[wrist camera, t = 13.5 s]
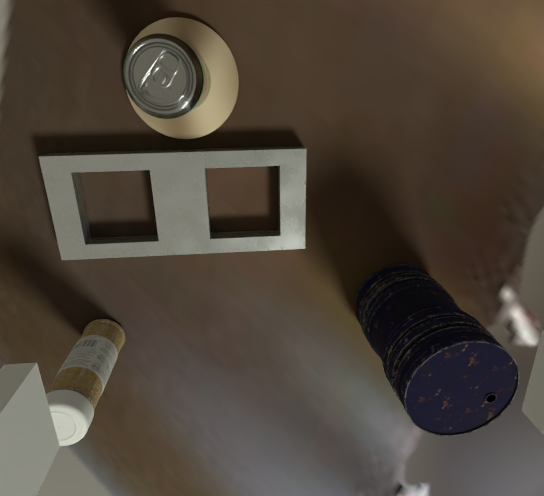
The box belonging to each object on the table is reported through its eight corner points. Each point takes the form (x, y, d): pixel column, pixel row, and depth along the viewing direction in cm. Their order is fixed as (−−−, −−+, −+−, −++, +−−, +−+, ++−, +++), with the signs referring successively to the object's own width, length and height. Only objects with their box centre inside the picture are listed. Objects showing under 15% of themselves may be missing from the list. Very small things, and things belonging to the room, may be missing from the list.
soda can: (143, 90, 36) (104, 92, 25) (169, 36, 35) (140, 12, 24) (194, 121, 38) (179, 135, 26) (221, 70, 36) (217, 62, 25)
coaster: (235, 17, 35) (235, 16, 35) (241, 136, 39) (241, 137, 39) (117, 18, 35) (115, 17, 34) (134, 139, 38) (132, 140, 38)
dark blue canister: (340, 326, 48) (382, 423, 34) (375, 252, 45) (438, 326, 31) (414, 346, 50) (482, 446, 36) (452, 277, 47) (544, 357, 33)
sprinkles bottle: (85, 350, 46) (30, 448, 34) (83, 315, 45) (24, 404, 32) (127, 352, 47) (88, 448, 34) (126, 317, 45) (85, 405, 33)
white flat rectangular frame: (303, 145, 40) (306, 148, 38) (302, 241, 44) (305, 248, 42) (48, 153, 38) (38, 156, 36) (69, 252, 42) (61, 260, 40)
